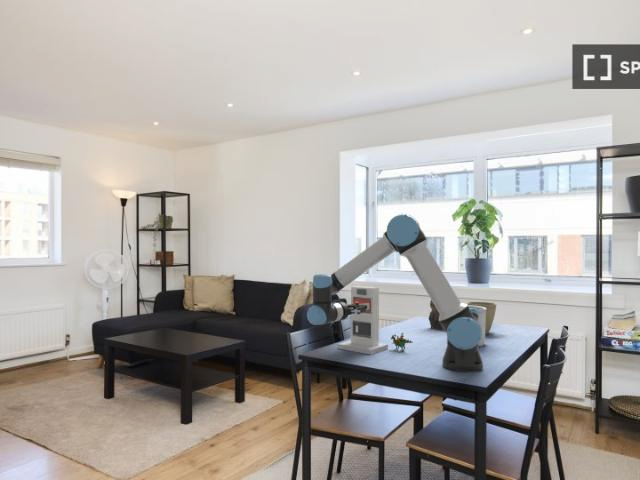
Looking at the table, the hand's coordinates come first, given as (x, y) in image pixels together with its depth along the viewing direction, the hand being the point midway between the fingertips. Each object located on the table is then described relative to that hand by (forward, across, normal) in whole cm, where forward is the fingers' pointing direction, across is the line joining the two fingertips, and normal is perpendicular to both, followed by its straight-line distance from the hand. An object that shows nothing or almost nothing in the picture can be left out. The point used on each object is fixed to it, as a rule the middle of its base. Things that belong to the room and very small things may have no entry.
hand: (368, 305), depth 204 cm
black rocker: (0, -3, -13) cm, 14 cm away
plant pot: (+76, +25, -20) cm, 82 cm away
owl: (+73, +3, -20) cm, 76 cm away
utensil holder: (+44, +30, -20) cm, 57 cm away
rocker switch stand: (0, -3, -20) cm, 20 cm away
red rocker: (0, -3, -2) cm, 4 cm away
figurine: (+9, +12, -20) cm, 25 cm away
